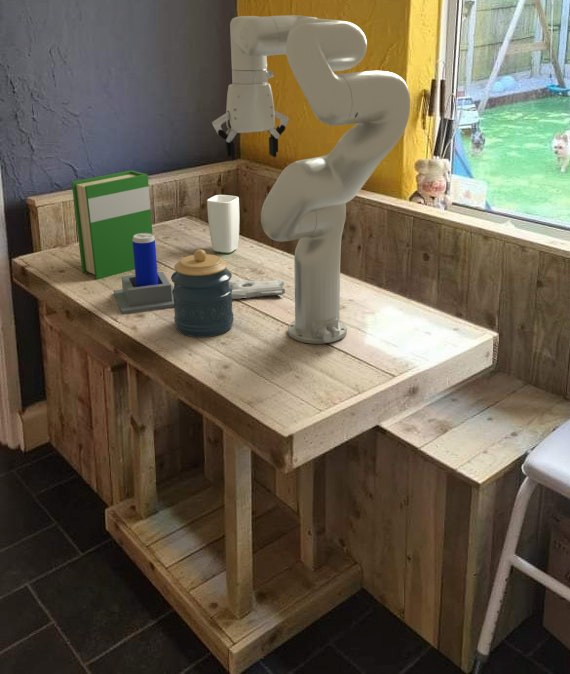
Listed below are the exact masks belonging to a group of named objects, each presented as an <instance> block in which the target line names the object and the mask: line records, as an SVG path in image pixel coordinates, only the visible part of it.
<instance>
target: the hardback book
mask: <svg viewBox="0 0 570 674" xmlns="http://www.w3.org/2000/svg"><path fill="white" fill-rule="evenodd" d="M71 188H72V199H73V205H74V213H75V214H74V215H75V221H76V222H75V224H76V229H77V237H78V238H77V239H78V246H79V255H80V262H81V263H80V264H81V271H82V274H89V273H91V274H92V275H94V278H95V280H97V281H99V280H101V279H105V278H109V277H113V276H116V275H120V274H123V273H128V272H130V271H135V264H134V253H133V241H132V240H133V236H134V235H136V234H139V233H151V234H153V222H152V221H153V220H152V211H151V210H152V209H151V197H150V185H149V175H148V174H147V173H143V172H140V171H136V170H133V169H132V170H131V169H130V170H126V171H122V172H121V171H120V172H115V173H111V174H104V175H101V176H94V177H90V178H84V179H79V180H74V181H71ZM153 235H154V234H153Z"/></svg>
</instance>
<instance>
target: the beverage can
mask: <svg viewBox="0 0 570 674" xmlns="http://www.w3.org/2000/svg"><path fill="white" fill-rule="evenodd" d="M132 241H133V253H134V264H135V270H134V275H135V276H136V287H141V286H149V285H157V284H158V274H157V272H158V263H157V261H158V260H157V251H156V247H157V246H156V238H155V236H154V234H151V233H139V234H136V235H134V236H133V240H132Z"/></svg>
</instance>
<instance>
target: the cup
mask: <svg viewBox="0 0 570 674" xmlns="http://www.w3.org/2000/svg"><path fill="white" fill-rule="evenodd" d="M206 204H207V205H206V207H207V208H206V209H207V220H208V230H209V236H210V241H211V242H210V243H211V248H212V251H213V252H215V253H219V252H220V253H221V254H231V253H232V252H235V251H236V250H237V249H238V247H239V237H240V198H239V196H236V195H228V194H216V195H213V196H212V197H210V198H208V199H206ZM220 253H219V254H220Z"/></svg>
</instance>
